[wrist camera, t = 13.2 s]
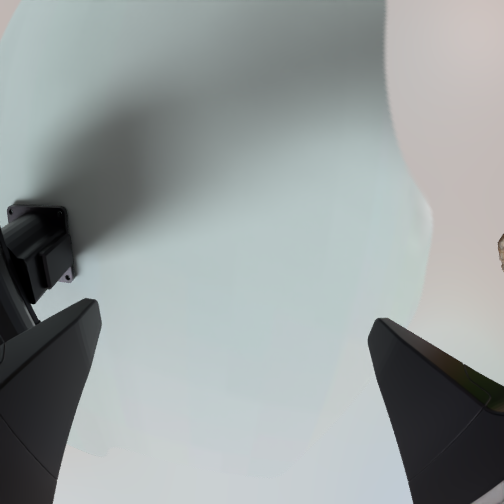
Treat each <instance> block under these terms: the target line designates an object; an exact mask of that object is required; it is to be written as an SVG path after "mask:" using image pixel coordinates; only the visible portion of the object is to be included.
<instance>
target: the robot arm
mask: <svg viewBox="0 0 504 504" xmlns="http://www.w3.org/2000/svg"><path fill="white" fill-rule="evenodd" d="M12 211H13V213H12ZM59 211H61V212H62V216H61V215H60V213H59ZM7 215H8V222H9V224H7V225H6V226H4V227H2V228H1V227H0V504H53V499H54V494H55V489H56V484H57V479H58V475H59V470H60V466H61V462H62V458H63V454H64V450H65V446H66V443H67V439H68V436H69V432H70V429H71V426H72V422H73V419H74V416H75V413H76V409H77V406H78V403H79V400H80V397H81V394H82V391H83V388H84V386H85V383H86V380H87V377H88V374H89V371H90V368H91V365H92V361H93V357H94V353H95V349H96V345H97V342H98V338H99V334H100V331H101V326H102V321H101V316H100V310H99V304H98V302H97V300H95V299H89V298H84V299H82V300H81V301H79V302H77V303H75V304H73V305H71V306H69V307H68V308H66V309H64V310H62V311H60V312H58V313H57V314H55V315H53V316H51V317H49V318H48V319H46V320H44V321H42V322H41V321H40V320H38V318H37V316H36V314H35V312H34V310H33V308H32V306H31V304H35V303H36V302H37V301H38V300H39V299H40V297H41V296H42V295H43V294H44V293H45V291H46V290H47V289H51V288H52V287H53V286H54V285H55V284H56V282H57V281H59V282H66V283H71V282H72V281H73V280H74V270H73V255H72V247H71V239H70V235H69V231H68V220H67V211H66V209H65V208H64V207H62V206H37V205H11V206H9V207H8V209H7ZM67 275H69V277H70V278H69V277H68V276H67ZM368 346H369V350H370V354H371V358H372V362H373V367H374V371H375V375H376V379H377V382H378V385H379V388H380V391H381V394H382V396H383V400H384V402H385V405H386V408H387V412H388V415H389V418H390V421H391V424H392V427H393V430H394V434H395V437H396V440H397V444H398V447H399V451H400V454H401V457H402V461H403V465H404V468H405V472H406V475H407V479H408V481H409V482H408V484H409V488H410V492H411V496H412V500H413V504H504V386H502V385H500V384H498V383H496V382H494V381H493V380H491V379H489V378H487V377H485V376H484V375H482V374H480V373H478V372H476V371H475V370H473V369H472V368H470V367H468V366H467V365H465V364H464V365H463V363H462V362H460V361H458V360H457V359H455V358H453V357H452V356H450V355H448V354H447V353H445V352H443V351H442V350H440V349H439V348H437V347H435V346H434V345H432V344H430V343H429V342H427V341H425V340H424V339H422V338H420V337H419V336H417V335H415V334H414V333H412V332H410V331H409V330H407V329H405V328H404V327H402V326H400V325H399V324H397V323H395V322H394V321H392V320H390V319H389V318H377V319H376V320H375V322H374V324H373V327H372V329H371V331H370V334H369V336H368Z"/></svg>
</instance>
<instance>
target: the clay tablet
mask: <svg viewBox="0 0 504 504" xmlns="http://www.w3.org/2000/svg"><path fill="white" fill-rule="evenodd" d="M498 251H499V255H500V260H501V261H502V265H501V267H502V270H503V272H504V234H503V235H502V237H501V238H500V240H499V242H498Z"/></svg>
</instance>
